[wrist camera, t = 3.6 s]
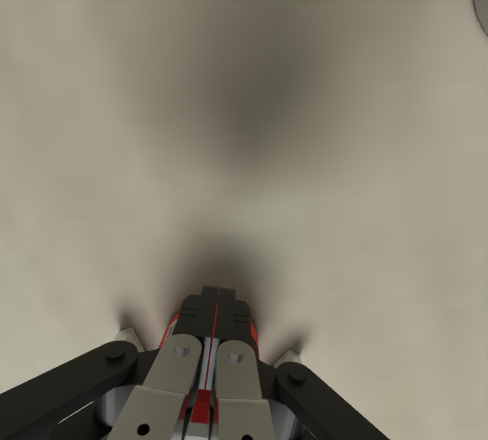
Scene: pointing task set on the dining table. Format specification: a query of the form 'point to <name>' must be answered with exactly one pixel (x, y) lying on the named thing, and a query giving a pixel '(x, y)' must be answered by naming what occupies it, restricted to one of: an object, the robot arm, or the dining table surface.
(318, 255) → the dining table surface
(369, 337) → the dining table surface
